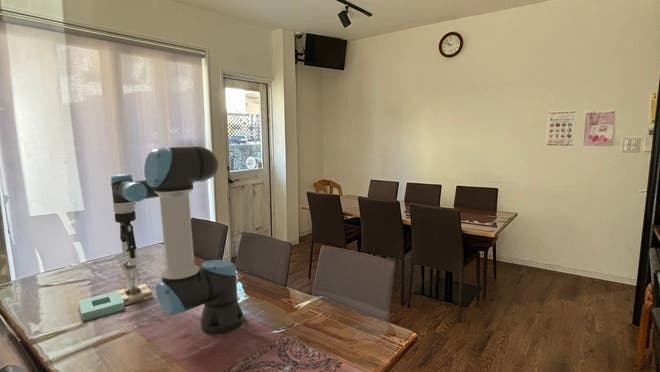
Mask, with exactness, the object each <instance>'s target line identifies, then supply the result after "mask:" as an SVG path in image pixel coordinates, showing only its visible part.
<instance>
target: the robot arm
mask: <svg viewBox="0 0 660 372" xmlns="http://www.w3.org/2000/svg"><path fill="white" fill-rule="evenodd" d="M145 158H146V159H145V162H144V168H143V169H144V170H143V172H144V178H145V179H143V180H133V175H131V174H130V173H120V174H119V173H118V174H114V175H111V177H110V185H111V192H112V193H111V194H112V201H113V202H112V205H113V212H114V221H115V222H116V223H119V231H120V233H119V235H120V237H119V238H120V241H121V250H122V252H121V253H122V257H123V258H126V257H127V258H128V262H129V266H133V265H137V266H138V261H137V252H136V250H137V245H136V239H135V233H134V226H133V224H132V223H131V222H134V221H135V220H137V216H136V211H135V210H136V207H135V205H136V204H137V203H139V202H141V201H143V200H146V199H147V200H149V199H153V198H159V201H160V202H159V203H160V214H161V215H160V216H161V226H162V234H163V244H164V245H163V248H164V256H165V270H164V271H163V272H162V273H161V280H160V281H158V282H157V283H156V284H155V285H156V286H155V293H156V297H157V300H158V302H159V305H160V306H161V308H162V310H163V311H164V312H165V314H167V315H169V316H176V315H180V314H182V313H183V314H184V313H186V312H187V311H190V310H193V309H195V308H197V307H200V306H202V305H203V310H202V313H201V317H200V329H201V330H202V331H203V332H205V333H208V334H224V333H228V332H230V331H231V332H232V331H234V330H236V329H237V328H238V327H240V326H241V325H242V324H243V323H244V311H243V310H242V307H241V305H240V302H239V300H238V287H237V285H238V284H237V275H238V274H237V268H236V265H235V264H234V263H233V262H232V261H230V260H226V259H211V260H206V261H204V262H202V263H201V266H200V267H199V266H198V265H196V264H195V256H194V255H195V254H194V245H193V244H194V243H193V242H194V241H193V232H192V231H193V230H192V218H191V217H192V216H191V206H190V205H191V204H190V193H191V192H192V191H193V190H194V184H195V183H197V182H205V181H207V180H210V179H212V178H213V177H214V176H215V175H216V174H217V172H218V169H219V160H218V157H217V156H216V155H215V153H214V152H212V151H211V150H210V149H209V148H206V147H203V146H196V145H195V146H178V147H177V146H176V147H173V146H172V147H160V148H159V147H158V148H155V149H152V150H150V151H149V153H148V154H147V156H146V157H145ZM200 268H201V269H200Z"/></svg>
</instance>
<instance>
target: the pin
mask: <svg viewBox="0 0 660 372" xmlns="http://www.w3.org/2000/svg"><path fill="white" fill-rule="evenodd" d="M137 266H138V264H137V265H133V266H129V261H127V262H124V263H123V268H124V270H125V278H126V279H125V280H126V288H127V290H128V295H131V294H135V293H139V291H138V285H139V284H138V283H139V281H138V275H137V274H138V273H137Z"/></svg>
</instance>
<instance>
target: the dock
mask: <svg viewBox="0 0 660 372" xmlns="http://www.w3.org/2000/svg"><path fill="white" fill-rule="evenodd" d="M125 306H126V305H124V301H123V299H122V297H121V295H120V293H119V292H118V291H117V290H114V291H111V292H108V293H104V294H99V295H96V296H92V297H91V296H90V297H87V298H83V299H79V300H78V307H79V312H80V317H81V320H82V322H85V321H88V320H92V319H96V318H100V317H103V316H106V315H110V314H113V313H118V312H120V311H124V310H125Z"/></svg>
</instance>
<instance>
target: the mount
mask: <svg viewBox="0 0 660 372" xmlns="http://www.w3.org/2000/svg"><path fill="white" fill-rule="evenodd" d="M116 291H118V292H119V293H120V295H121V297H122V299H123V301H124V306H127V305H131V304H134V303H138V302H141V301H145V300H149V299H152V298H153V292H152V291H151V289H150V288H149V286H148V285H147V283H141V284H138V291H139V293H135V294H131V295H128V290H127V287H125V288H120V289H117V290H116Z"/></svg>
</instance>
